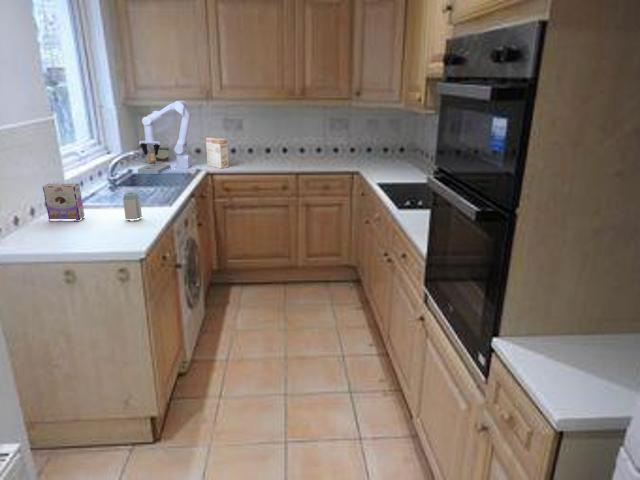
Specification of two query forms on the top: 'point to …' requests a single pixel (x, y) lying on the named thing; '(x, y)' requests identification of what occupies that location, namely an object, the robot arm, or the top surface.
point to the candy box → (63, 201)
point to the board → (153, 168)
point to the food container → (162, 154)
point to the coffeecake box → (217, 152)
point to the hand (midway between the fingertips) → (151, 154)
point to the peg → (151, 158)
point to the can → (132, 206)
